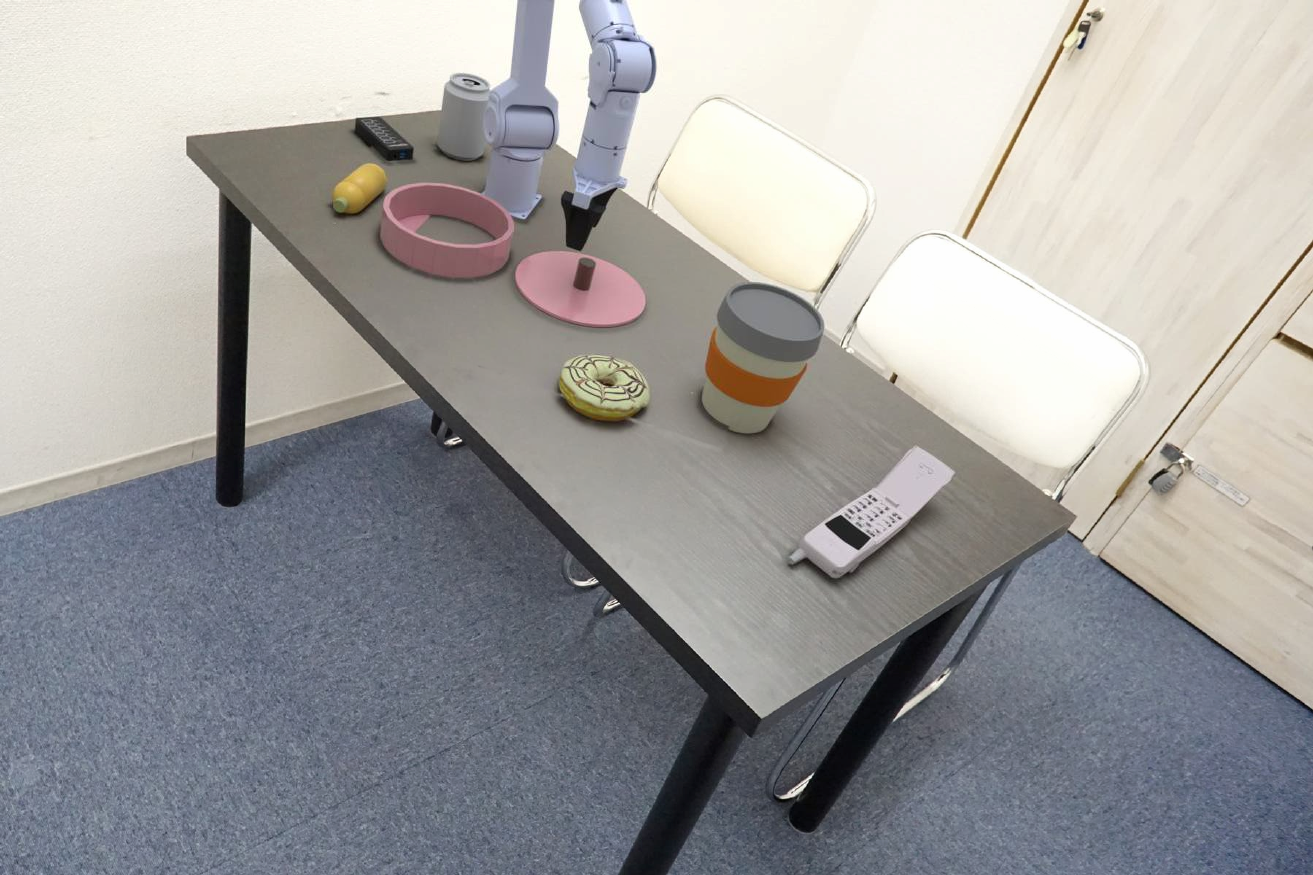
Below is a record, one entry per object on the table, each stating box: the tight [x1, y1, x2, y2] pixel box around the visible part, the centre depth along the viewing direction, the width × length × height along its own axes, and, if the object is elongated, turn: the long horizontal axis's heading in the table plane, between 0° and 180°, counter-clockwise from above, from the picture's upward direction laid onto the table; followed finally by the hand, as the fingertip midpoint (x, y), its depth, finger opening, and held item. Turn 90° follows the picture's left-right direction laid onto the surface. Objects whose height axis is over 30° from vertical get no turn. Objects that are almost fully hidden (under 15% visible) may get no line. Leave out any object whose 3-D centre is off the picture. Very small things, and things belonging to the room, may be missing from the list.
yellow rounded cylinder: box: [331, 163, 388, 215], centre depth 132 cm, size 12×4×4 cm, turn 170°
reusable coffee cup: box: [701, 281, 826, 434], centre depth 115 cm, size 13×12×15 cm
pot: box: [379, 182, 515, 279], centre depth 129 cm, size 17×17×5 cm
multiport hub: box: [354, 116, 415, 162], centre depth 148 cm, size 4×11×2 cm, turn 41°
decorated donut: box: [558, 353, 651, 422], centre depth 112 cm, size 10×11×4 cm
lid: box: [514, 250, 647, 328], centre depth 130 cm, size 18×18×5 cm
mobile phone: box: [787, 444, 956, 579], centre depth 106 cm, size 6×6×25 cm
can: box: [436, 72, 491, 162], centre depth 151 cm, size 8×8×12 cm
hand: (581, 236), depth 126 cm, fingers open, 7 cm apart
